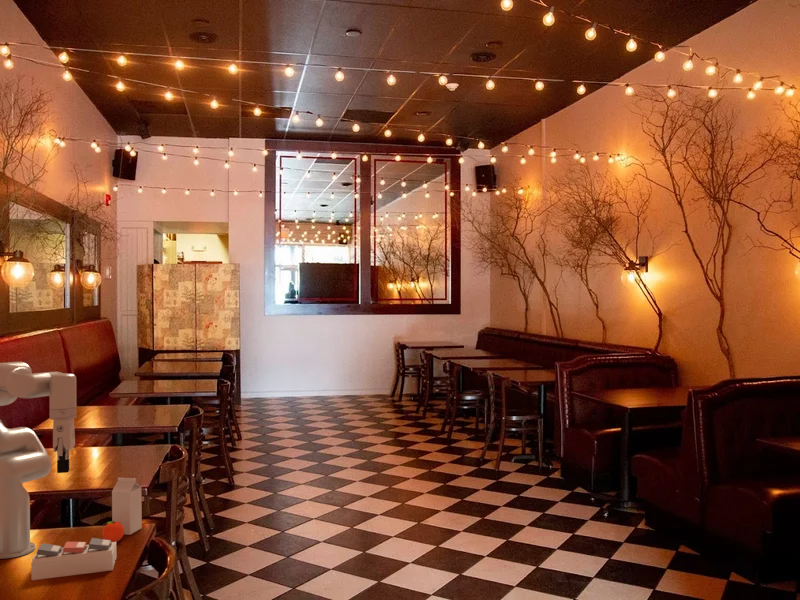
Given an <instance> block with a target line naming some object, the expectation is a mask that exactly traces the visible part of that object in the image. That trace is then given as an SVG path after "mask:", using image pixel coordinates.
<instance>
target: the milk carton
mask: <svg viewBox="0 0 800 600" xmlns="http://www.w3.org/2000/svg"><path fill="white" fill-rule="evenodd" d="M142 501H143V499H142V486H141V485H140V484H139V483H138V482H137V479H136V478H135V477H134V478H132V477H131V478H129V477H128V478H127V477H117V481H116V483H115V485H114V487H113V488H112V491H111V511H112V512H111V515H112V516H111V518H112V519H111V521H112V522H113V521H117V522H119V523H121V524H122V525H123V527H124V534H123V535H127V536H129V535H130V536H131V535H132V534H134V533H136V532H137V531H139V530H141V529H142V528H143V522H142V521H143V520H142V519H143V517H142V516H143V515H142V514H143V513H142V512H143V511H142V510H143V509H142Z"/></svg>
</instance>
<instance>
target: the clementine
mask: <svg viewBox="0 0 800 600" xmlns="http://www.w3.org/2000/svg"><path fill="white" fill-rule="evenodd" d="M101 528H102V532H101V536H102V539H105V540H111V542H116V543H117V542H119V541H121V539H122V538H123V537H124V535H125V534H124V527H123V525H122V524H121V523H119V522H117V521H113V522H112V520H111V521H107V522H106V523H104V525H102V526H101Z"/></svg>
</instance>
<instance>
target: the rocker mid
mask: <svg viewBox="0 0 800 600" xmlns="http://www.w3.org/2000/svg"><path fill="white" fill-rule="evenodd" d="M86 545H87V541H66V542H65V544H64V545H63V547H62V548H63V553H83V552H84V549H85V547H86Z"/></svg>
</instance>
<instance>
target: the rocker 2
mask: <svg viewBox="0 0 800 600" xmlns="http://www.w3.org/2000/svg"><path fill="white" fill-rule="evenodd" d="M110 542H111V540H105V539H104V538H96V537H91V539H90V542H89V544H88V545H89V547H88V549H96V550H108V549H109V546H110Z"/></svg>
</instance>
